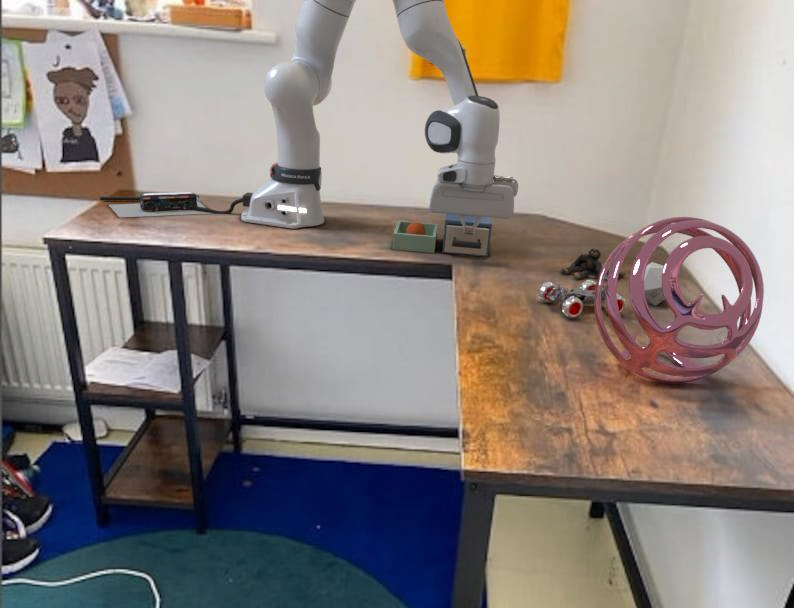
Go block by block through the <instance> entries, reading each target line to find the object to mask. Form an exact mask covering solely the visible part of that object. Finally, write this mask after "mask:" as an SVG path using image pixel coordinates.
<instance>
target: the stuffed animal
mask: <svg viewBox="0 0 794 608" xmlns="http://www.w3.org/2000/svg"><path fill="white" fill-rule="evenodd" d="M601 255H602V252H601V251H600V249H598V248H596V247H594V248H590V250H589V251H588V253H587V254H586V253H585V254H580V255H579V256H578V257H577V258H576V260H574V261H573V262H572V263H571V264H570V265H569V267H566V268H565V267H561V268H560V269H561V271H562V274H564V275H573V276H574V277H575V279H576V280H581V279H585V278H592V279H598V277H599V274H600V272H601V269H602V267H603V265H602V262H601V261H600V260H599V259H600V258H601V257H602V256H601ZM609 271H610V269H607V272H606V274H605V277H604V280H607V279H608V275H609ZM625 276H627V275H626V272H623V271H619V275H618V279H620V278H623V277H625Z"/></svg>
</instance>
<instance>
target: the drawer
mask: <svg viewBox="0 0 794 608" xmlns="http://www.w3.org/2000/svg"><path fill="white" fill-rule="evenodd" d="M467 226H470V225H467ZM488 236H489V229H486V227H481V226H477V227H476V228H475V235H469V234H463V226H462V225H459V224H450V225H447V231H446V241H445V252H453V253H464V254H475V255H485V256H486V252H487V244H488Z"/></svg>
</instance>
